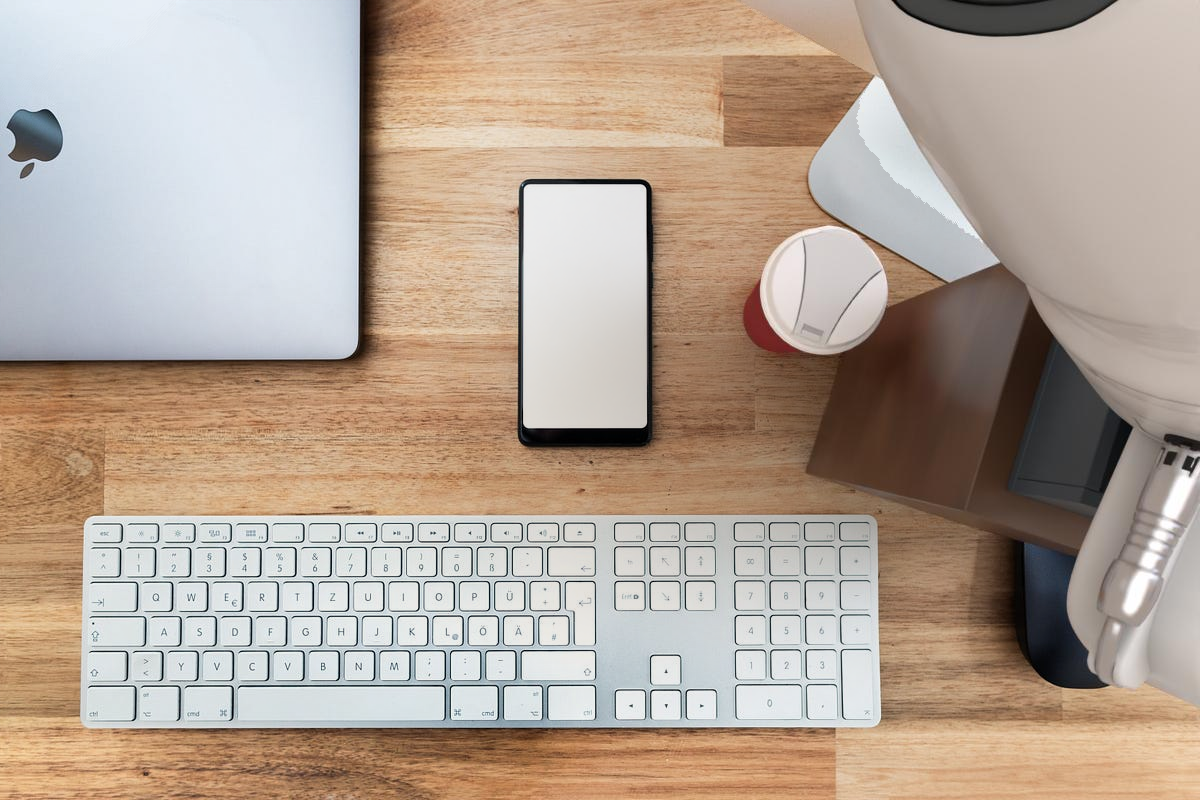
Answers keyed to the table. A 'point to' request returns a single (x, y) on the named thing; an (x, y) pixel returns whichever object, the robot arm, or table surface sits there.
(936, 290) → the stand
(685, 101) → the table surface
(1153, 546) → the robot arm
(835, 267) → the paper cup
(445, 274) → the table surface
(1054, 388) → the bin
